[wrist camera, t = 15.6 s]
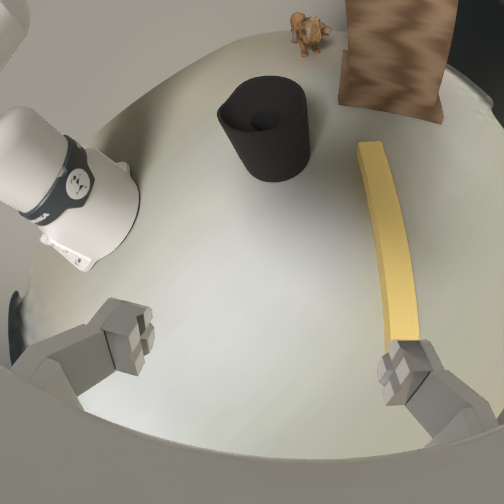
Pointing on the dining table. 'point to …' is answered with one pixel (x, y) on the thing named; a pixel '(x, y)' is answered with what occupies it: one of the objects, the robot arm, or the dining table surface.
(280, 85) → the pen holder
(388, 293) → the mustard rod
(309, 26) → the lion figurine
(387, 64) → the walnut pedestal
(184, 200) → the dining table surface
